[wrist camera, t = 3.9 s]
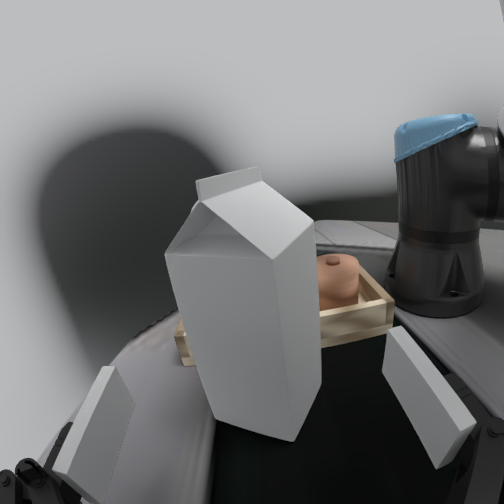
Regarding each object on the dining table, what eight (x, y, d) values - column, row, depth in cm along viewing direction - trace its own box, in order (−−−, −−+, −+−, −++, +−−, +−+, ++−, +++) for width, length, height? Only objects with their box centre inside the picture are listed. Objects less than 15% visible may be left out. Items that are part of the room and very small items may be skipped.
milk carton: (322, 384, 24) (307, 161, 18) (293, 444, 18) (261, 172, 12) (252, 370, 28) (216, 171, 22) (214, 420, 22) (148, 188, 16)
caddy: (354, 284, 42) (353, 237, 39) (391, 331, 29) (396, 272, 27) (198, 308, 42) (187, 261, 39) (184, 366, 29) (165, 308, 27)
